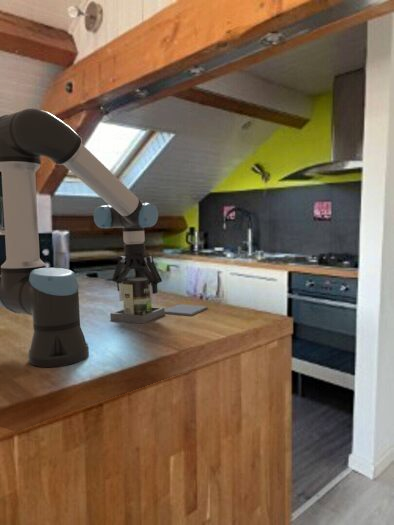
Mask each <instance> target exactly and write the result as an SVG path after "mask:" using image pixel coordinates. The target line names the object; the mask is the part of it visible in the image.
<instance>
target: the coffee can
mask: <svg viewBox="0 0 394 525" xmlns="http://www.w3.org/2000/svg"><path fill="white" fill-rule="evenodd" d="M122 284H123V300H122V301H123V309H124V314H132V315H144V314H147V313H150V312H152V307H153V306H152V303H150V287H149V285H150V284H151V283H150V281H149V280H148V279H147V277H146V276H145V277H142V276H141V277H140V276H139V277H129V278H125V279H123V280H122Z"/></svg>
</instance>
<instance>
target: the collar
mask: <svg viewBox="0 0 394 525" xmlns="http://www.w3.org/2000/svg"><path fill="white" fill-rule="evenodd" d="M151 307H152V312H150V313H147V314H144V315H132V314H124V308H122V309H118V310H115V311H113V312H110V317H109V318H110V321H116V322H117V321H118V322H126V323H135V324H145V323H147V322H150V321H152V320H155V319H157V318H160V317H163V316H164V315H165V311H164V310H165V307H157V306H151Z"/></svg>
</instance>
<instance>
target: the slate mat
mask: <svg viewBox="0 0 394 525" xmlns="http://www.w3.org/2000/svg"><path fill="white" fill-rule="evenodd" d="M207 309H208V306H207V305H206V306H205V305H193V304H192V305H191V304H190V305H189V304H180V303H179V304H176V305H173V306H171V307H168V308H164V311H165V314H166V315H167V314H168V315H176V316H177V315H178V316H187V317H192V316H195V315H196V314H199V313H201V312H203V311H206V310H207Z"/></svg>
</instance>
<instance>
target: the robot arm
mask: <svg viewBox="0 0 394 525" xmlns="http://www.w3.org/2000/svg"><path fill="white" fill-rule="evenodd" d="M41 156H42V157H46V158H48V159H50V160H51V161H52V162H53V163H54V164H56V165H58V166H64V167H65V168H66V169H67V170H69V171H70V172H71V173H72V174H73V175H74V176H75V177H76V178H78V179H79V180H80V181H81V182H82V183H84V185H86V186H87V187H88V188H89V189H90V190H92V191H93V192H94V193H95V194H96V195H97V196H98V197H100V198H101V199H102V200H103V201H104V202H105V203H107V204H104V205H99V206H97V207H96V208H95V210H94V211H93V221H94V223H95V225H96V226H97V227H98V228H99V229H121V228H122V236H123V243H124V245H123V252H124V255H121V256H118V257H117V264H116V268H115V270H114V272H113V273H114V274H113V275H112V279H111V280H112V281H113V282H116V285H117V292H118V293H119V294H118V296H119V301H120V302H121V301H123V284H122V280H123V279H126V277H127V275H128V274H129V272H130V271H131V270H140V271H141V272H142V274H143V275H144V276H145V278H147V279H148V280H149V281H150V285H149V287H150V303H151V304H154V303H156V302H157V293H158V284H159V283H162V282H163V279H162V277H161V275H160V273H159V271H158V268H157V267H156V265H155V262H154V257H153V255H151V256H146V255H145V254H146V244H145V243H144V242H145V241H146V240H145V228H151V227H153V226H155V225H156V224H157V222H158V220H159V211H158V209H157V206H156V205H154V204H153V203H151V202H150V203H149V202H143V201H142V200H141V199H139V198H138V197H137V195H135V194H134V193H133V192H132V190H130V189H129V188H128V187H127V186H126V184H124V183H123V182H122V181H121V180H120V179H119V178H118V177H117V176H116V175H114V173H113V172H112V171H110V169H109V168H108V167H106V165H104V164H103V163H102V162H101V161H100V160H99V158H97V157H96V156H95V155H94V154H93V152H91V151H90V150H89V149H88V148H87V147H86V146H84V144H83V139H82V137H81V136H80V135H79V134H78V133H77V132H76V131H75V130H74V129H73V128H72V127H70V126H69V125H68V124H66V123H65V122H64V121H63V120H61V119H60V118H58V117H57V116H55V115H54V114H52V113H50V112H48V111H45V110H42V109H41V108H40V109H39V108H25V109H23V110H20V111H17V112H14V113H10V114H5V115H1V116H0V173H1V188H2V203H3V205H2V206H3V220H4V221H3V223H4V239H5V256H6V257H5V258H6V259H5V261H4V262H3V263H2V264H1V265H0V306H1V307H2V308H4V309H5V310H7V311H10V312H12V313H15V314H23V315H27V316H28V315H29V316H32V325H33V333H32V334H33V335H32V338H31V343H30V348H29V350H28V354H27V355H28V363H29V364H30V365H32V366H34V367H41V368H53V367H54V368H55V367H57V368H58V367H64V366H68V365H72V364H75V363H78V362H81V361H83V360H85V359H86V358H88V356H89V354H90V351H89V350H90V349H89V344H88V342H86V337H85V335H84V333H83V330H82V327H81V319H80V317H81V316H80V296H79V295H80V294H79V283H78V277H77V275H76V273H75V272H74V271H72V270H71V269H67V268H61V267H46V266H47V265H46V263H45V262H44V261H43V260H42V259H41V258H40V256H41V255H40V240H39V220H38V219H39V218H38V199H37V198H38V197H37V182H36V181H37V179H36V173H37V171H38V170H39V169H40V168H41V167H42V164H41V161H42V160H41ZM125 263H126V264H125Z"/></svg>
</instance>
